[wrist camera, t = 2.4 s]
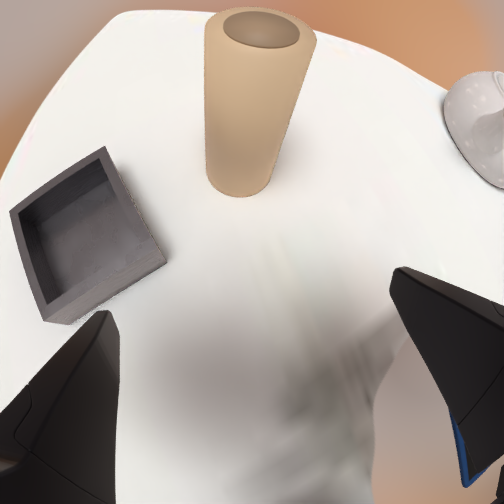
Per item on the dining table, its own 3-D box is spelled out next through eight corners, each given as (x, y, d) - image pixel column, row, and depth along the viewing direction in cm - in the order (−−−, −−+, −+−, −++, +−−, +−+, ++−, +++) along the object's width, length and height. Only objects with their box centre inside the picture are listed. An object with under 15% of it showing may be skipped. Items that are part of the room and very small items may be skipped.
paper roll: (283, 166, 26) (336, 35, 12) (243, 210, 24) (275, 72, 11) (234, 132, 26) (252, -3, 13) (192, 171, 25) (180, 28, 11)
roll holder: (167, 262, 22) (157, 247, 18) (68, 325, 20) (43, 321, 16) (117, 171, 24) (104, 145, 20) (32, 228, 22) (9, 211, 18)
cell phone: (486, 363, 23) (491, 363, 22) (499, 450, 20) (503, 451, 19) (445, 402, 22) (450, 402, 21) (461, 489, 19) (465, 490, 18)
